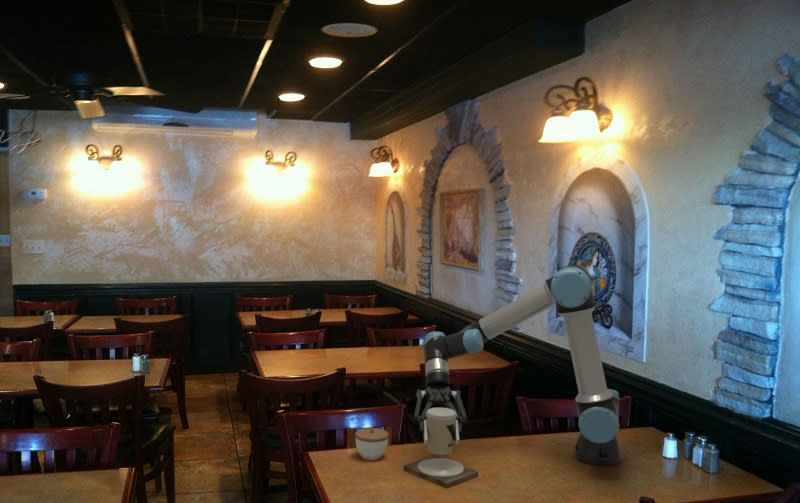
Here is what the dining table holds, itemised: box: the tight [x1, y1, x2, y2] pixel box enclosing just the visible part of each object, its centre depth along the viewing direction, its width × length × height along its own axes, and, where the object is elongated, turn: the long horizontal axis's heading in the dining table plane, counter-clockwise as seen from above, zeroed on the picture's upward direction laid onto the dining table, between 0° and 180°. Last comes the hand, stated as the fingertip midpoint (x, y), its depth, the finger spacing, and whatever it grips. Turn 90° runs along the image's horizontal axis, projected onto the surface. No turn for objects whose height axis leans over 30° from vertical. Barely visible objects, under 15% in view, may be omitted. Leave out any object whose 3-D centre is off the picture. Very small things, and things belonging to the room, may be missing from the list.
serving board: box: [403, 454, 479, 489], centre depth 213 cm, size 18×14×2 cm
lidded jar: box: [354, 427, 389, 461], centre depth 225 cm, size 11×11×9 cm
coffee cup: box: [425, 407, 457, 456], centre depth 212 cm, size 9×9×12 cm
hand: (441, 441), depth 209 cm, fingers closed on coffee cup, 9 cm apart
